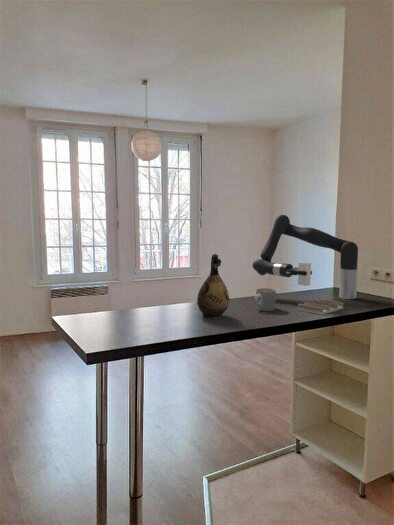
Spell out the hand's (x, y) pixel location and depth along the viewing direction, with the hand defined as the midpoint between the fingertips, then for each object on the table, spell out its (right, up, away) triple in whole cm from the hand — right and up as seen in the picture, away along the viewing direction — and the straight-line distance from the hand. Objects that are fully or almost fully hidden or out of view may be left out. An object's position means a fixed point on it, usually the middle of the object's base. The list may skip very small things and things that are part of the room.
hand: (308, 273), depth 214 cm
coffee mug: (-25, -19, -5) cm, 32 cm away
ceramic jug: (-52, -20, -20) cm, 59 cm away
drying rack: (+5, -19, -6) cm, 20 cm away
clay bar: (-2, -6, +3) cm, 7 cm away
